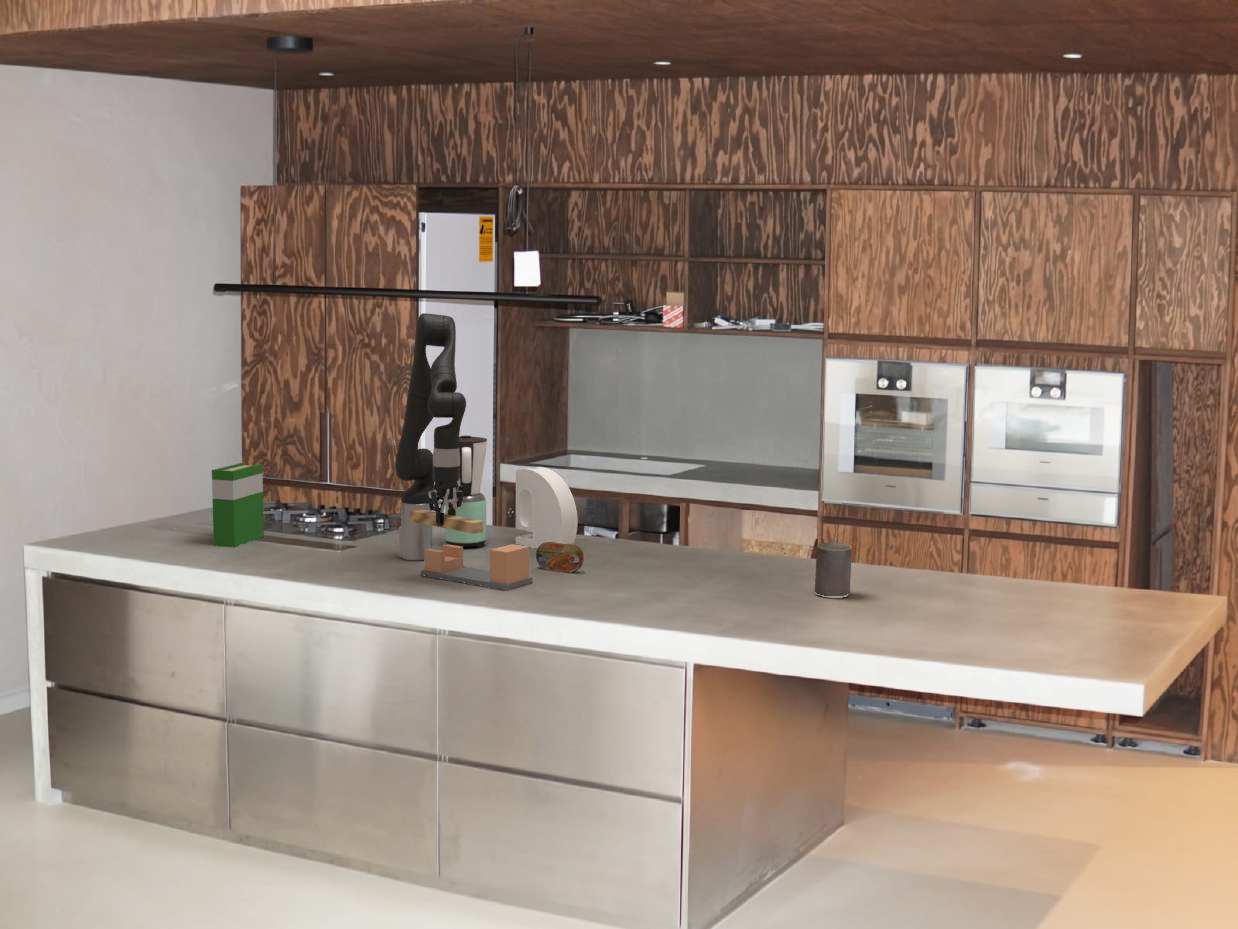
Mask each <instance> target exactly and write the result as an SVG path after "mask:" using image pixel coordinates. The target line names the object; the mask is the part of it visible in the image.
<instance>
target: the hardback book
mask: <svg viewBox="0 0 1238 929" xmlns="http://www.w3.org/2000/svg"><path fill="white" fill-rule="evenodd" d="M263 475H264V474H263V463H256V464H254V465H248V464H247V465H246V464H245V462H240V463H236V464H232V465H228V466H227V465H226V466H223V467H220V468H219V467H218V468H214V469H212V470H211V486H212V488H211V489H212V490H211V492H212V495H211V496H212V522H213V523H212V524H213V527H212V529H213V532H212V533H213V546H214V547H225V548H237V547H240V546H241V545H240V544H243V545H246V544H248V543H247V542H249V541H251V542H254V541H256V540H255V539H257V540H259V539H258V538H260V537H263V536H264V537H265V528H264V526H265V524H264V522H265V520H264V516H265V515H264V484H263V483H264V478H263V477H264V476H263ZM264 537H263V538H264ZM260 539H261V538H260ZM253 540H254V541H253ZM245 543H246V544H245ZM249 543H250V542H249ZM239 545H240V546H239Z"/></svg>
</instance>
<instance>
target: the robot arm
mask: <svg viewBox="0 0 1238 929" xmlns="http://www.w3.org/2000/svg"><path fill="white" fill-rule="evenodd" d="M416 322H417V323H416V326H415V336H414V351H413V359H412V367H411V368H412V369H411V374H410V380H409V385H408V391H407V398H406V405H405V406H406V407H405V414H404V415H405V416H404V419H403V420H404V421H403V426H402V432H401V436H400V440H399V443H398V448H397V451H396V452H397V453H396V456H395V465H394V466H395V473H396V475H397V477H398V479H399V480H401V481H405V482H407V481H409V482H410V481H413V484H412V485H410V487H408V489H406V490H403V491H402V492H401V498H400V499H401V525H400V526H399V527H398V552H399V553H398V554H399V558H401V559H403V560H406V561H424V550H425V549H433V526H431V525H426V524H421V523H416V522H411V521H410V511H412V510H417V509H422V510H428V511H433V512H436V523H437V525H439V526H443V525H444V514H445V505H446V504H447V505H448V509H449V510H448V514H449V515H454V516H456V510H457V508H458V507H461V505H462V500H463V496H464V492H465V486H459V485H458V483H457V481H459V479H460V452H459V436H460V432H461V426H462V421H463V418H464V416H465V412H466V408H467V399H466V397H465V395H464V394H463V393H461V392H456V391H457V389H458V388H457V387H458V384H457V383H458V382H457V377H456V365H455V362H456V359H455V358H456V342H457V340H456V339H457V338H456V337H457V336H456V330H457V328H456V323H455V320H454V318H453V317H452V316H449V315H443V314H435V313H427V312H426V313H425V312H423V313H421V314H419V316H418V318H417V320H416ZM427 346H430V347H431V346H432V347H440V348H441V347H442V348H443V350H442V351H441V352H440V354H439V355H438V356H437V357H436V358H435V359H434V361H433V362H432V364H431V366H430V363H429V360H428V358H427ZM434 418H438V419H441V418H442V419H443V418H445V419H446V418H447V419H448V418H449V419H450V418H452V419H451V421H450V422H449V423H448V424H444V425H440V426H436V427H435V428H434V430H433V453H432V451H431V450H430V449H428V448H418V446H419V442H420V439H421V437H422V435H423V433H424V432H425V431H426V429H427V428H428V426H430V424H431V423H432V421H433V419H434ZM458 498H459V500H458V502H457V499H458ZM451 503H452V504H451Z"/></svg>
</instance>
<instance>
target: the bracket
mask: <svg viewBox="0 0 1238 929" xmlns="http://www.w3.org/2000/svg"><path fill="white" fill-rule="evenodd" d="M515 529H516V530H521V531H526V532H530V533H529V534H523V535H518V536H515V545H516V544H520V545H524V546H528V547H531V548H530V549H534V548H538V547H539V546H540V545H541V544H542V543H545V542H557V543H567V544H574V543H575V541H576V538H577V537H576V536H577V532H578V511H577V506H576V502H575V498H574V496H573V493H572V492H571V489H570V487H569V486H568V484H567V483H566V482H565V480H564V478H562V476H560V475H559V474H558V473H557V472H556V471H553V470H552V469H550V468H547V467H544V466H534V467H527V468H521V469H520V468H519V469H516V470H515Z"/></svg>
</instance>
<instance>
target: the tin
mask: <svg viewBox="0 0 1238 929" xmlns="http://www.w3.org/2000/svg"><path fill="white" fill-rule="evenodd" d="M535 558H536V562H537V564H538V565H539V567H540V568H542V569H543V570H545V569H546V570H545V571H550V570H551V571H552V572H559V573H566V572H569V574H570V573H574V572H577V571H579V570H580V569H581V568H582V567H583V564H584V561H585V560H584V552H583V551H582V549H581V547H580V546H578V545H577V544H574V543H573V544H567V543H557V542H545V543H542V544H541V545H540V546H539V547H538V549H536V553H535Z"/></svg>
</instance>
